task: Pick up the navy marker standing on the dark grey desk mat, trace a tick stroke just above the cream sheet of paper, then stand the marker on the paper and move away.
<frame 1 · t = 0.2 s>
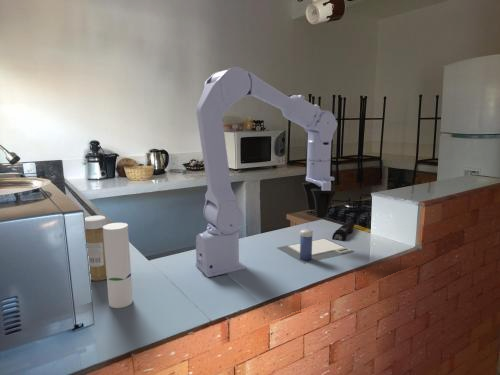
hand: (316, 213, 98), 10 cm above the counter, tool pointing down, fingers open, 7 cm apart
paper: (315, 249, 100), resting on desk mat
electric trimmer: (343, 235, 113), on the counter
desk mat: (315, 251, 99), on the counter
marker: (305, 258, 93), resting on desk mat
word tile: (343, 252, 98), resting on desk mat
sprinkles bottle: (99, 278, 84), on the counter
tube: (121, 303, 73), on the counter
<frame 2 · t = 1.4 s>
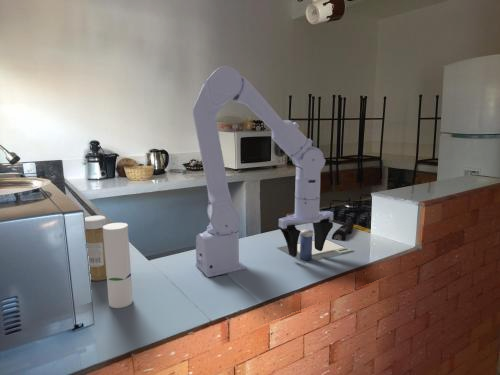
hand: (305, 252, 92), 2 cm above the counter, tool pointing down, fingers open, 7 cm apart
nothing on the counter moved.
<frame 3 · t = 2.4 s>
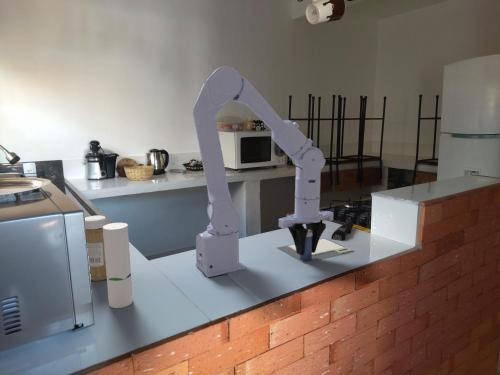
hand: (305, 252, 92), 2 cm above the counter, tool pointing down, fingers closed on marker, 3 cm apart
marker: (305, 258, 93), resting on desk mat, touching gripper
everything else where it was.
when the fingers open (3 cm above the counter, at t = 7.1 s): marker stays where it is, resting on paper.
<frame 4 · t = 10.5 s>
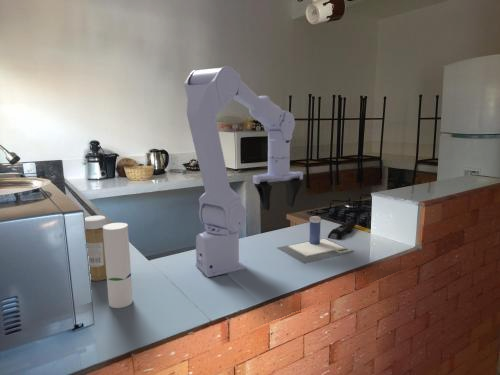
hand: (278, 207, 103), 10 cm above the counter, tool pointing down, fingers open, 7 cm apart
marker: (314, 242, 103), point 1 cm above the counter, touching paper
at the end: marker inside the target area on the paper (2.8 cm from its centre), point 0.7 cm above the paper's base; marker tilted 1°; marker moved 11.3 cm from its start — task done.
